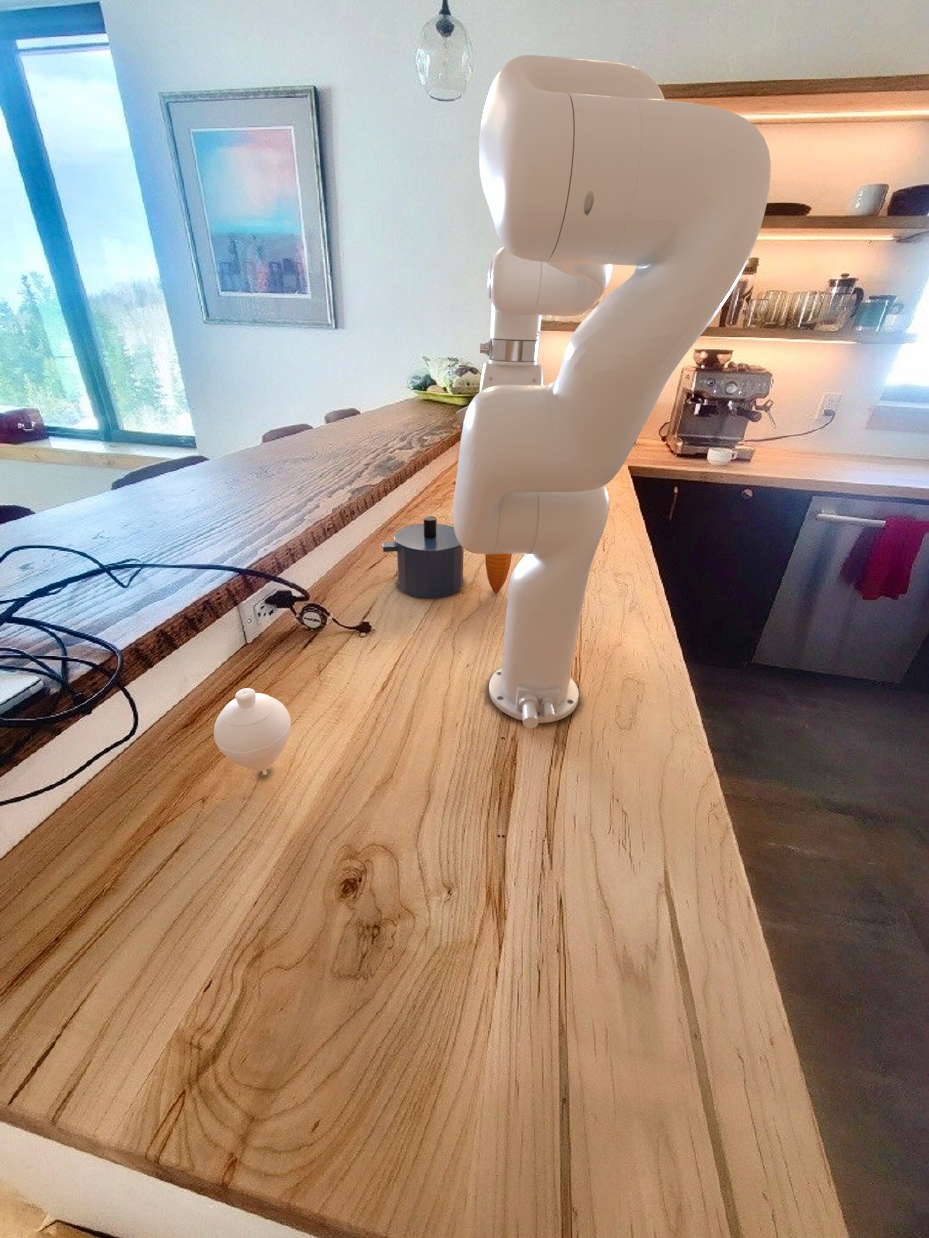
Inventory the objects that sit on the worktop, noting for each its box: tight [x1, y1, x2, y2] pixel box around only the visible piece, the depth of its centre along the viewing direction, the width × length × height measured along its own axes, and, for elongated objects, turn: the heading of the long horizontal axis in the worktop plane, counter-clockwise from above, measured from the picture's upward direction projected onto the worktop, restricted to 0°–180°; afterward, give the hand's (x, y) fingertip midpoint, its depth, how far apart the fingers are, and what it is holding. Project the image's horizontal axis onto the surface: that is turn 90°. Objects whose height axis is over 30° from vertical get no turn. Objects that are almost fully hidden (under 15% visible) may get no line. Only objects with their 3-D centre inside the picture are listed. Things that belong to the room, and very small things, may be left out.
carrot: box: [485, 554, 513, 594], centre depth 93 cm, size 5×5×15 cm
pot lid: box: [393, 515, 461, 553], centre depth 94 cm, size 14×14×5 cm
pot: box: [381, 541, 465, 599], centre depth 98 cm, size 13×18×10 cm
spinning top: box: [213, 687, 292, 776], centre depth 55 cm, size 8×8×12 cm
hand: (505, 466), depth 86 cm, fingers open, 9 cm apart
